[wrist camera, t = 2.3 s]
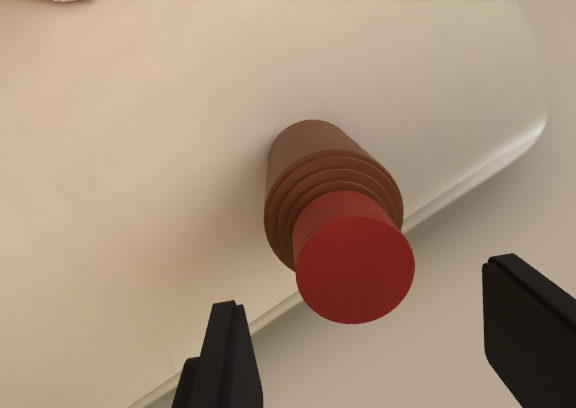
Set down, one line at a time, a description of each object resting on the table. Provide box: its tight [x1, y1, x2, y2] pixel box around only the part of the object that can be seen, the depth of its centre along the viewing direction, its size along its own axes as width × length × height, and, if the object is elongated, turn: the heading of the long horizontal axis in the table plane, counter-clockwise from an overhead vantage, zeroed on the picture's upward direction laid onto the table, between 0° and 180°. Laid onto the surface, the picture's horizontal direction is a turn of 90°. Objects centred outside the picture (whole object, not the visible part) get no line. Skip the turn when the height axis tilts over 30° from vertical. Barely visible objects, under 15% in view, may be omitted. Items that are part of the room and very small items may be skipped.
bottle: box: [264, 120, 403, 272], centre depth 23 cm, size 6×6×17 cm
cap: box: [292, 190, 415, 324], centre depth 16 cm, size 4×4×3 cm
